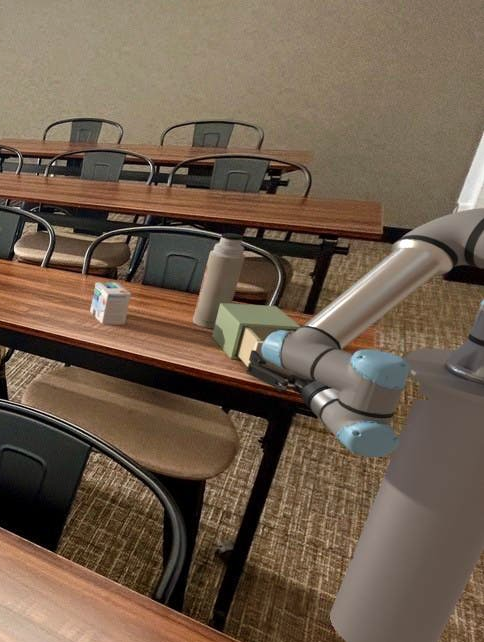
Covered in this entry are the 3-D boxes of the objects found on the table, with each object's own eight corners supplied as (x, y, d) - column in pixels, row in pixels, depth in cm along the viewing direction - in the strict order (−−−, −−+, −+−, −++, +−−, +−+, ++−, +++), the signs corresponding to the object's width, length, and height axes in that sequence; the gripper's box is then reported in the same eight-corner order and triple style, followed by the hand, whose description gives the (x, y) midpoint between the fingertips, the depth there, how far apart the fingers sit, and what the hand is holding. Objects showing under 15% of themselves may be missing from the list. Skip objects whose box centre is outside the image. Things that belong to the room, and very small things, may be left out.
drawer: (317, 389, 136) (328, 356, 133) (257, 383, 140) (266, 351, 137) (282, 355, 152) (291, 325, 149) (229, 351, 156) (237, 321, 153)
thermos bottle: (187, 322, 176) (209, 234, 166) (199, 316, 180) (222, 229, 169) (218, 331, 169) (243, 240, 159) (230, 324, 173) (255, 235, 163)
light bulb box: (89, 312, 188) (94, 281, 184) (111, 312, 187) (117, 281, 183) (101, 325, 178) (107, 293, 174) (125, 326, 177) (132, 293, 173)
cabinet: (290, 364, 149) (301, 327, 146) (230, 359, 154) (239, 322, 150) (266, 340, 162) (276, 306, 158) (212, 336, 167) (220, 302, 163)
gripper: (254, 409, 127) (220, 366, 145) (406, 426, 117) (349, 377, 136) (262, 379, 124) (227, 339, 142) (418, 394, 115) (359, 349, 133)
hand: (287, 358), depth 139 cm, fingers open, 13 cm apart
